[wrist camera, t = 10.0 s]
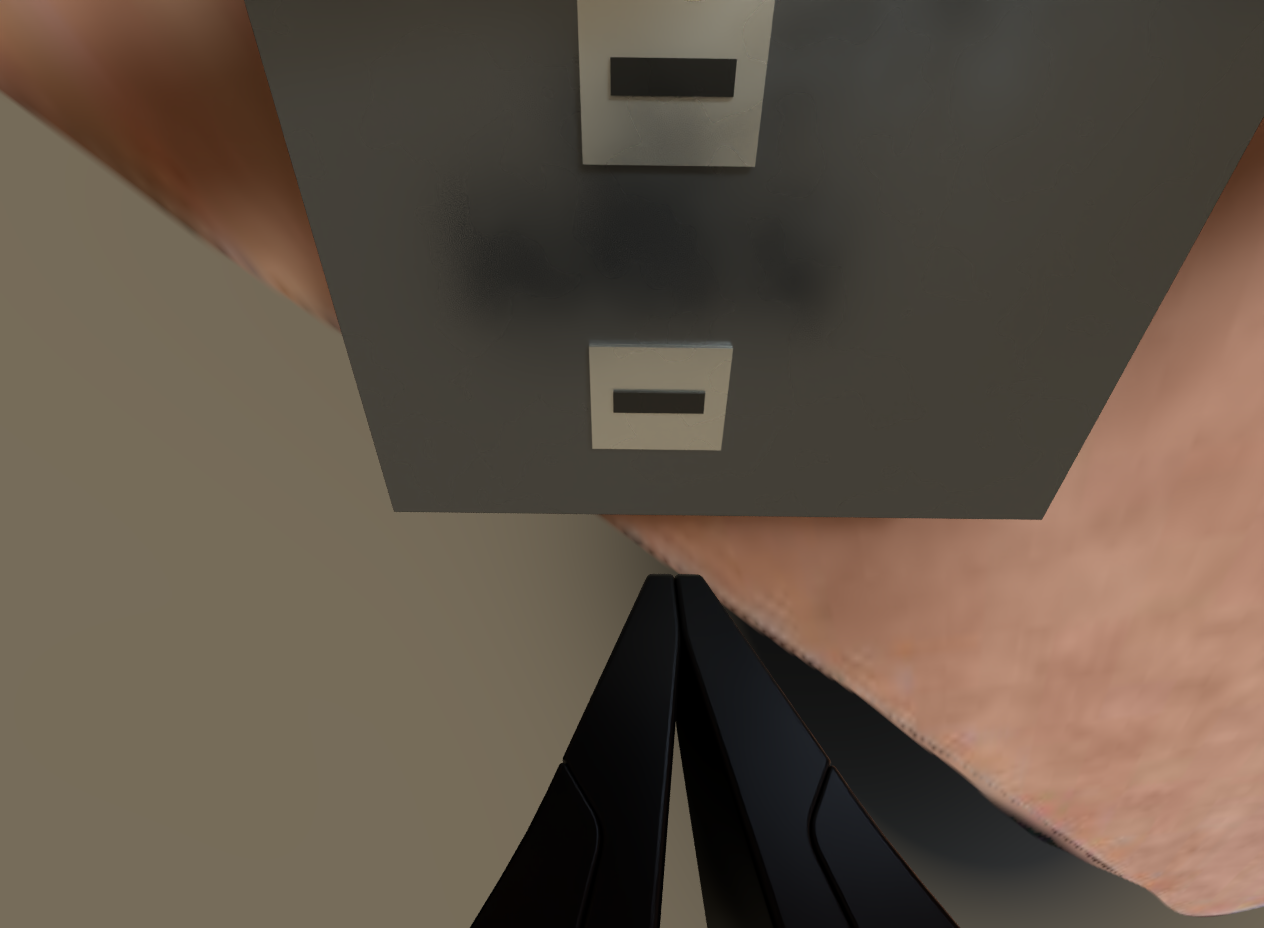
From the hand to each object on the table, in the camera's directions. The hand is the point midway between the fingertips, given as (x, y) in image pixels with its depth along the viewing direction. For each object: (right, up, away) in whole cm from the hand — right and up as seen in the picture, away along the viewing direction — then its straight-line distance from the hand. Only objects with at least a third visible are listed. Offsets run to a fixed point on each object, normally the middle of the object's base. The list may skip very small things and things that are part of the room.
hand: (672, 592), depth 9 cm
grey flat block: (+2, +10, +7) cm, 12 cm away
